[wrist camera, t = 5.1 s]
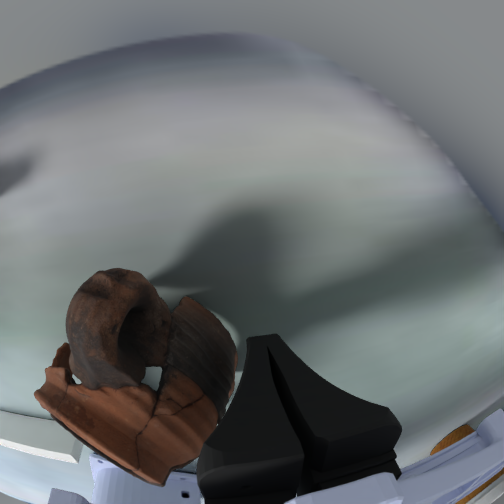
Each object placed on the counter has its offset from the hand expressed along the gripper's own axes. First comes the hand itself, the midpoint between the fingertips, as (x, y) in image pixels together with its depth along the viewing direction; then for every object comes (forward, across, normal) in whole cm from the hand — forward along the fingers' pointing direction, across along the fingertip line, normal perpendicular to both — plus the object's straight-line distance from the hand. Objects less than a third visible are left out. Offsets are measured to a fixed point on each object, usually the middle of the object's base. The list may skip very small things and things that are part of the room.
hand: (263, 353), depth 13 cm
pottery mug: (+3, +6, +1) cm, 7 cm away
